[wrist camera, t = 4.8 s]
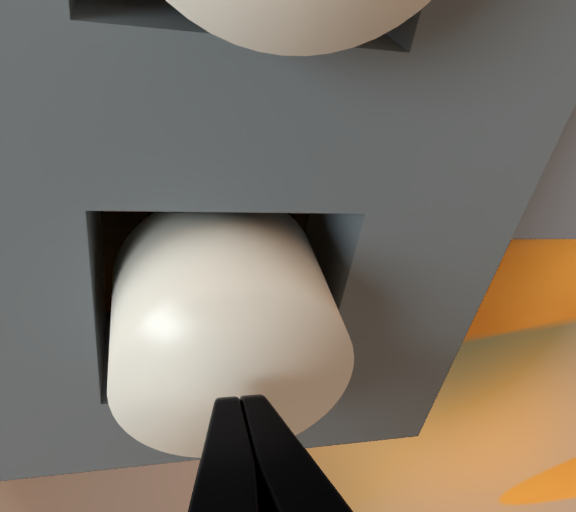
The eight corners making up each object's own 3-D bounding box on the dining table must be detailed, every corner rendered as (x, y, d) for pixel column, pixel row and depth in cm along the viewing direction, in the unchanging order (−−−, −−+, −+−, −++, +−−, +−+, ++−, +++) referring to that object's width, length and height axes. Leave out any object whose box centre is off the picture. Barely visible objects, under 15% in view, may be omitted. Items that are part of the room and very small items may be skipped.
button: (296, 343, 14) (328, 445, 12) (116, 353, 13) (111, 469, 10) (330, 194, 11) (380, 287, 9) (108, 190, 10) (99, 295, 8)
